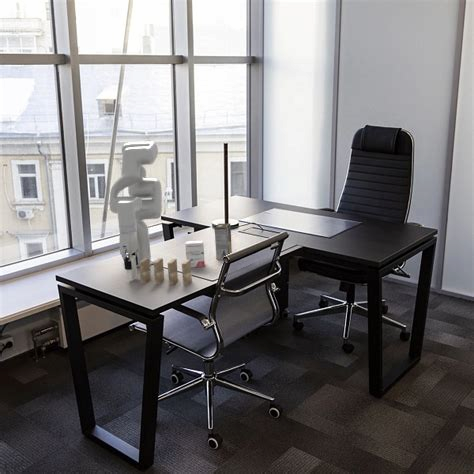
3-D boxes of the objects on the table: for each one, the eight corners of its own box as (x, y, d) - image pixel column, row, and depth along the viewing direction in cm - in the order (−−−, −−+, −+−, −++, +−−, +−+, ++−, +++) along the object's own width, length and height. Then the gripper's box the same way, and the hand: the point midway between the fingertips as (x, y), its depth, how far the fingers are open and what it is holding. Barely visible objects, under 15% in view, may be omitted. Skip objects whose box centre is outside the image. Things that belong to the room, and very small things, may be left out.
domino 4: (183, 285, 258) (181, 263, 256) (187, 280, 264) (186, 259, 261) (187, 285, 258) (186, 263, 255) (191, 280, 263) (190, 259, 261)
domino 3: (169, 284, 260) (167, 263, 257) (173, 280, 265) (172, 258, 263) (173, 284, 259) (171, 263, 257) (178, 280, 265) (176, 258, 262)
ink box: (204, 263, 287) (203, 239, 284) (204, 266, 282) (203, 242, 279) (186, 264, 286) (185, 241, 283) (186, 267, 281) (185, 244, 278)
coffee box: (219, 253, 301) (218, 223, 296) (232, 254, 299) (230, 223, 295) (216, 259, 292) (214, 227, 288) (228, 259, 291) (227, 228, 286)
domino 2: (155, 284, 261) (153, 262, 259) (160, 279, 267) (158, 258, 264) (159, 284, 261) (157, 262, 258) (164, 279, 266) (162, 258, 264)
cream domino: (127, 280, 264) (125, 259, 262) (133, 276, 270) (131, 255, 267) (132, 280, 264) (129, 259, 261) (137, 276, 269) (135, 255, 267)
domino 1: (141, 283, 263) (139, 261, 260) (146, 278, 269) (144, 257, 266) (145, 283, 262) (143, 262, 260) (150, 279, 268) (149, 257, 265)
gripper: (128, 223, 270) (131, 260, 274) (111, 233, 253) (115, 273, 258) (143, 223, 268) (146, 261, 273) (127, 233, 252) (131, 273, 257)
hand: (131, 266), depth 265 cm, fingers closed on cream domino, 5 cm apart
